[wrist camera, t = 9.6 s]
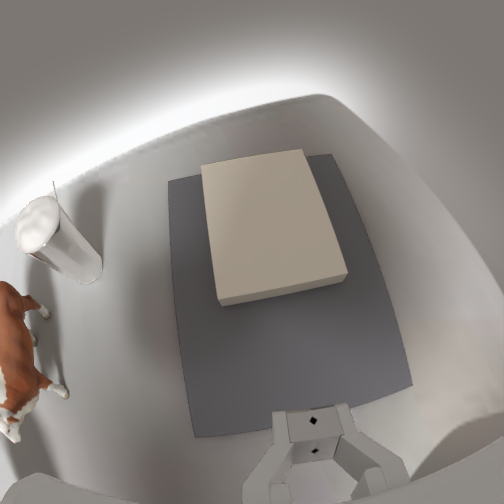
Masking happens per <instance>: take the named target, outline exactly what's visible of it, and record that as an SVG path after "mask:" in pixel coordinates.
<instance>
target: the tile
mask: <svg viewBox="0 0 504 504" xmlns="http://www.w3.org/2000/svg"><path fill="white" fill-rule="evenodd" d="M201 173H202V182H203V191H204V200H205V209H206V217H207V225H208V233H209V241H210V248H211V256H212V263H213V270H214V277H215V284H216V291H217V298H218V301H219V302H220V304H221V306H228V305H233V304H239V303H244V302H250V301H255V300H260V299H265V298H270V297H275V296H280V295H285V294H290V293H295V292H299V291H304V290H309V289H313V288H318V287H322V286H327V285H331V284H336V283H340V282H343V280H344V279H345V277H346V276H347V274H348V271H347V268H346V265H345V262H344V259H343V256H342V253H341V250H340V247H339V244H338V241H337V238H336V235H335V232H334V230H333V227H332V224H331V221H330V219H329V216H328V213H327V210H326V208H325V205H324V202H323V200H322V197H321V195H320V192H319V190H318V187H317V184H316V182H315V179H314V177H313V174H312V172H311V170H310V167H309V165H308V162H307V160H306V158H305V155H304V153H303V151H302V149H296V150H289V151H281V152H274V153H267V154H261V155H255V156H248V157H243V158H237V159H231V160H226V161H220V162H215V163H210V164H205V165H201Z"/></svg>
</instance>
